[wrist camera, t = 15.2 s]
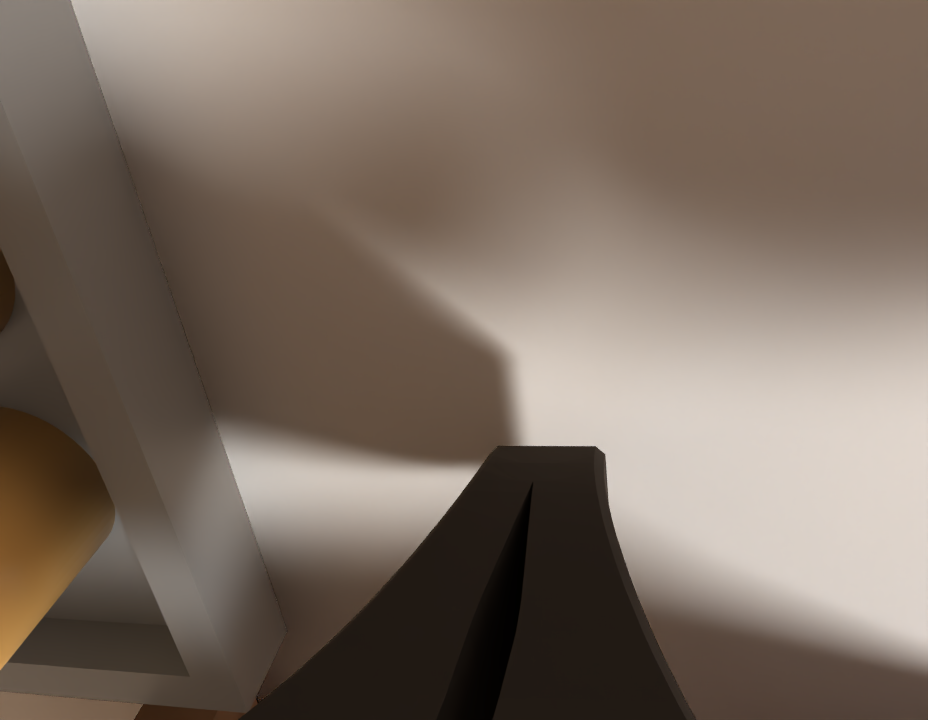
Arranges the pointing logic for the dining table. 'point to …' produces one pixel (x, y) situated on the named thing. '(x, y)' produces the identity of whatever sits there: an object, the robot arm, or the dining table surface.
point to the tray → (106, 421)
